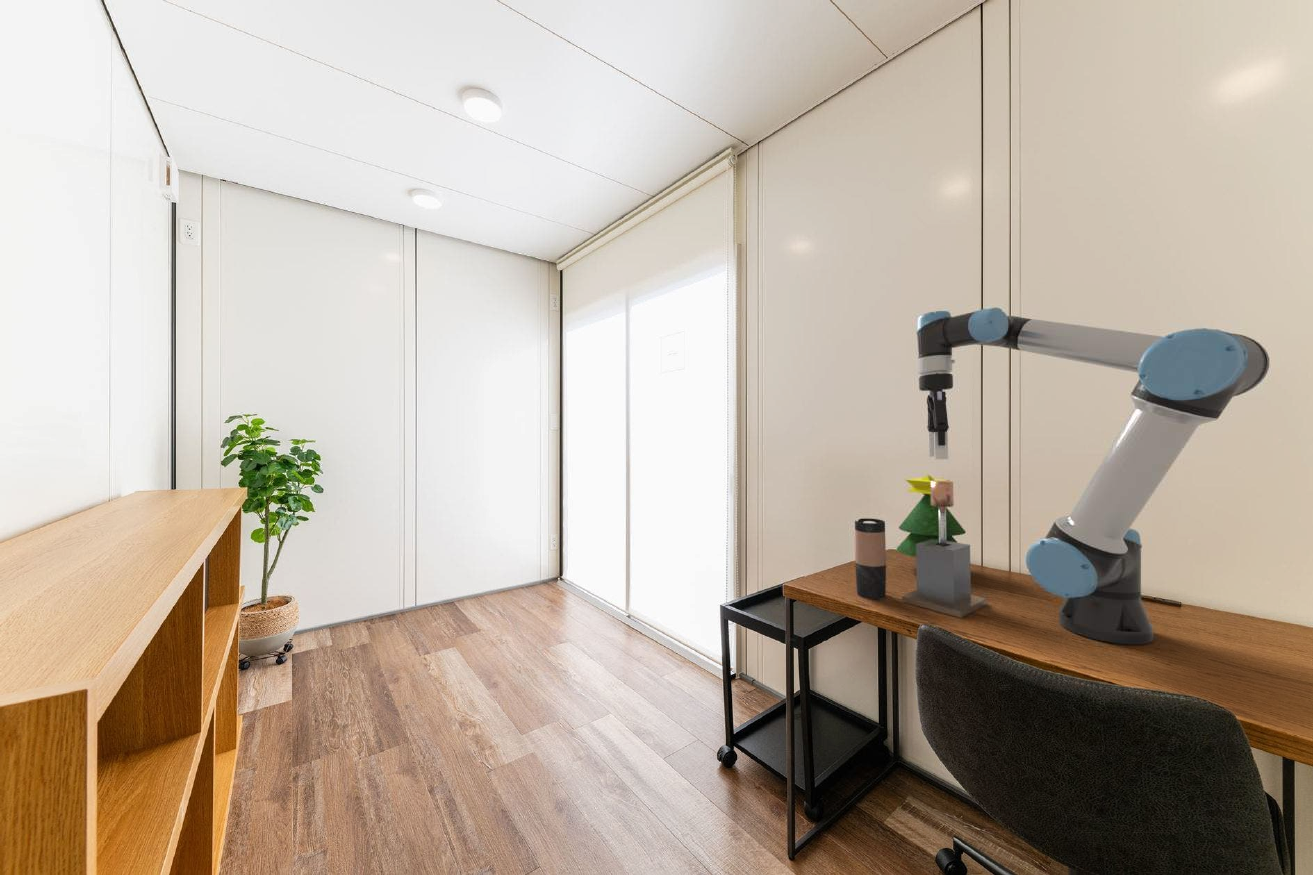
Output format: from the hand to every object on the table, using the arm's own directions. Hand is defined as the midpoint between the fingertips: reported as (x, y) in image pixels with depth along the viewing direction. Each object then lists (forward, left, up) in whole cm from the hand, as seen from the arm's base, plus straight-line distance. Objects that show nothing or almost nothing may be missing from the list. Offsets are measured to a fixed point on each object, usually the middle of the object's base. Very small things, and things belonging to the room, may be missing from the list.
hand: (938, 457), depth 125 cm
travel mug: (+14, +8, -37) cm, 41 cm away
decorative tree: (+14, -25, -37) cm, 47 cm away
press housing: (-1, 0, -37) cm, 37 cm away
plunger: (-1, 0, -27) cm, 27 cm away
